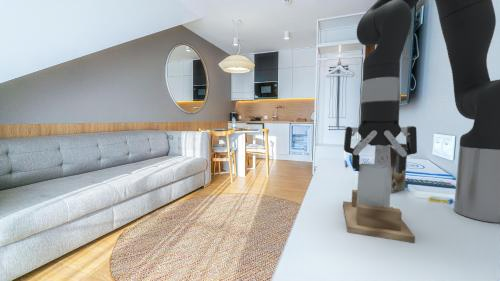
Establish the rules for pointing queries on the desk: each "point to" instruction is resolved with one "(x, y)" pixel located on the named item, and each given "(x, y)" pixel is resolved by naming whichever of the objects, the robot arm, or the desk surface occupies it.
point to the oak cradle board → (374, 231)
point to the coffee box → (390, 165)
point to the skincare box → (374, 185)
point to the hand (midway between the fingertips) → (377, 171)
